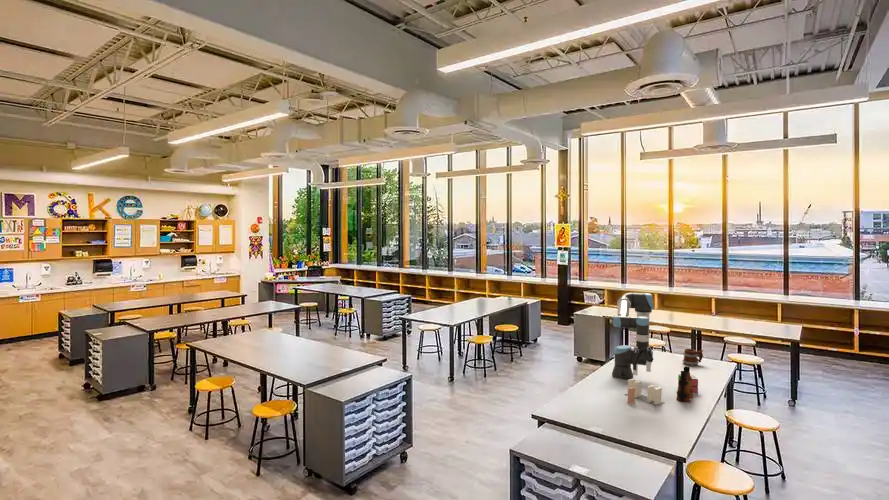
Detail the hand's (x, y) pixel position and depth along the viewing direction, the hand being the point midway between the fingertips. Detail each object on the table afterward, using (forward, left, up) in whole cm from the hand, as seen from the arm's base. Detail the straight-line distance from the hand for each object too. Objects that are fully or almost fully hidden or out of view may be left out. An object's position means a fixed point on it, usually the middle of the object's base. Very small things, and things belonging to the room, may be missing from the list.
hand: (641, 373), depth 306 cm
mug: (-33, +108, -19) cm, 114 cm away
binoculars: (+11, +29, -19) cm, 37 cm away
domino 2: (-7, +5, -18) cm, 20 cm away
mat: (-2, +5, -19) cm, 20 cm away
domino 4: (+8, +5, -18) cm, 21 cm away
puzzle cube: (+3, +45, -19) cm, 49 cm away
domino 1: (-12, +5, -18) cm, 23 cm away
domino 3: (+3, +5, -18) cm, 19 cm away
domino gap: (-2, -8, -19) cm, 20 cm away
